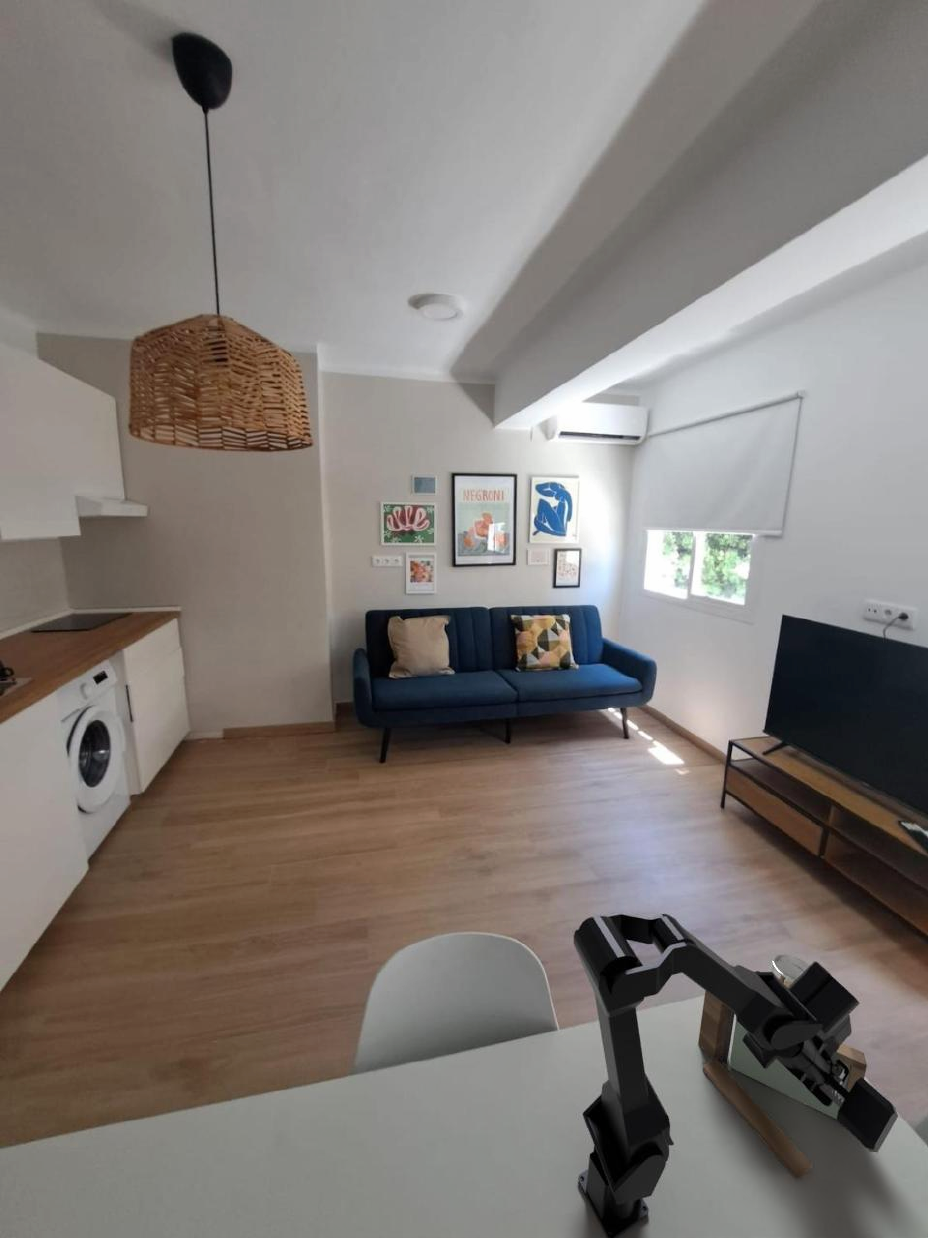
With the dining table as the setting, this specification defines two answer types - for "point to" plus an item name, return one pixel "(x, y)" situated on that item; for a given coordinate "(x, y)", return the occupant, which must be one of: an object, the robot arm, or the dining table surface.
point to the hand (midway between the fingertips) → (825, 1077)
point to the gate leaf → (785, 1079)
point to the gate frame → (717, 1044)
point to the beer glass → (788, 967)
